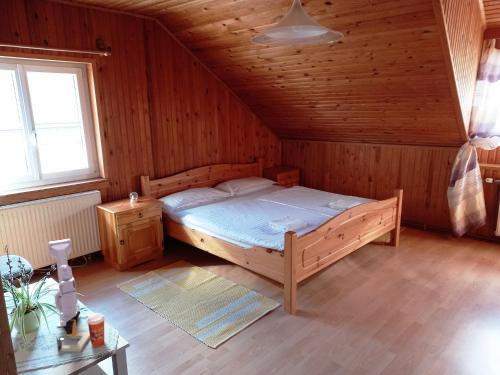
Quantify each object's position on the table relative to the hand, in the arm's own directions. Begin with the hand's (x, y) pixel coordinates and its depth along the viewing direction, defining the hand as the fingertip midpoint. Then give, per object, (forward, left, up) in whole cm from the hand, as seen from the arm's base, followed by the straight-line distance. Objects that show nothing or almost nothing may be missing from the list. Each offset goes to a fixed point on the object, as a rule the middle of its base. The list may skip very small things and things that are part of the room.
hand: (71, 330), depth 170 cm
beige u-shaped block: (-1, +1, -7) cm, 7 cm away
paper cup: (-1, +11, -7) cm, 14 cm away
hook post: (+3, -5, -7) cm, 9 cm away
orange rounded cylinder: (0, 0, -2) cm, 2 cm away
